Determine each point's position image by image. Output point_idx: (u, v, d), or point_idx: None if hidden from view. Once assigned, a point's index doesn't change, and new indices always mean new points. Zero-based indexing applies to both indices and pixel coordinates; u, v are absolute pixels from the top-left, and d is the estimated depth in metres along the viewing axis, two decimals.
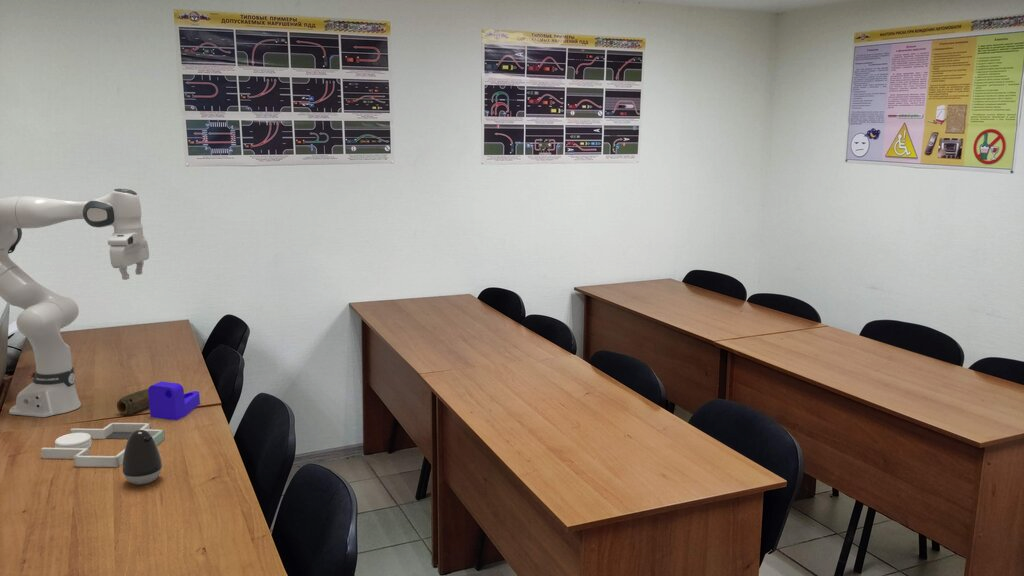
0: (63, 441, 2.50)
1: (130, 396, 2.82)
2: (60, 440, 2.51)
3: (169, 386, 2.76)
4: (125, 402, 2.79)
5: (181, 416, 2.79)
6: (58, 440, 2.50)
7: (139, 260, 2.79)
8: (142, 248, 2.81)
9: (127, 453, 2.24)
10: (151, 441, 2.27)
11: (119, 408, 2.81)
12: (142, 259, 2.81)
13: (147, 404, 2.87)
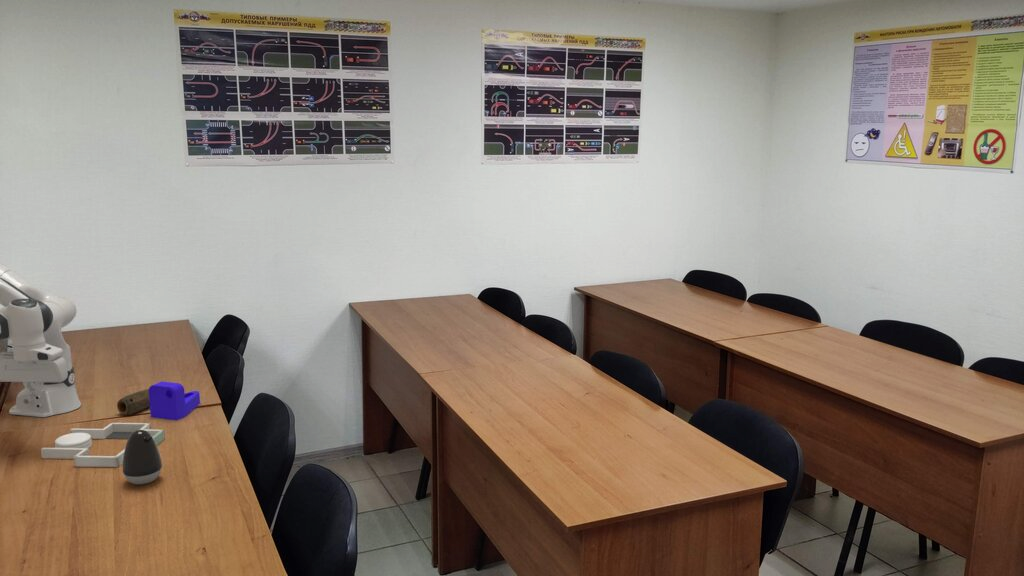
0: (63, 441, 2.50)
1: (130, 396, 2.82)
2: (60, 440, 2.51)
3: (170, 386, 2.76)
4: (125, 402, 2.79)
5: (182, 416, 2.79)
6: (58, 440, 2.50)
7: None
8: None
9: (127, 453, 2.24)
10: (151, 441, 2.27)
11: (119, 408, 2.81)
12: None
13: (147, 404, 2.86)
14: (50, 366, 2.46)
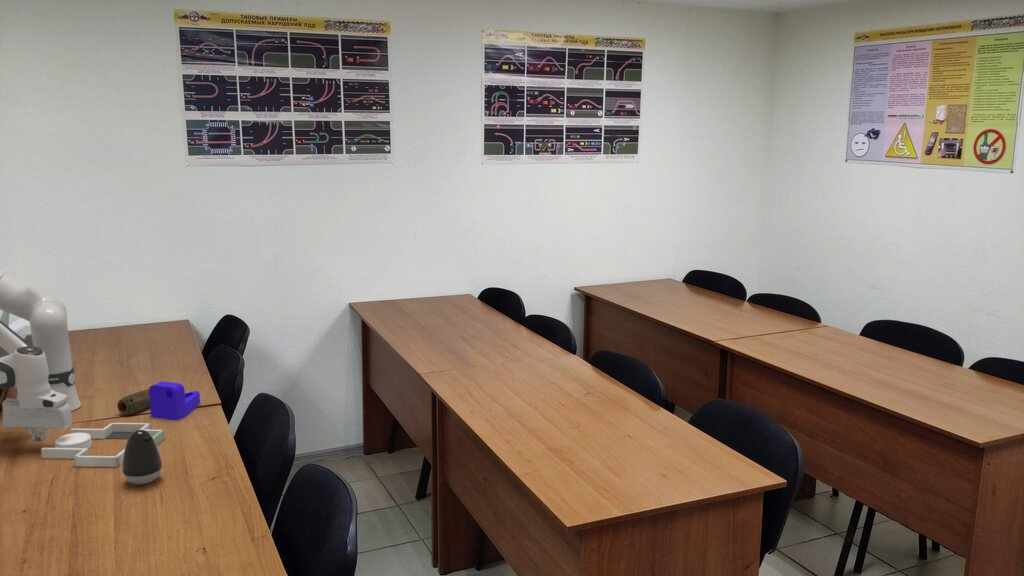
0: (63, 441, 2.50)
1: (131, 396, 2.82)
2: (60, 440, 2.51)
3: (170, 386, 2.76)
4: (126, 402, 2.79)
5: (182, 416, 2.79)
6: (58, 440, 2.50)
7: None
8: None
9: (127, 453, 2.24)
10: (151, 441, 2.27)
11: (120, 408, 2.81)
12: None
13: (148, 404, 2.86)
14: (55, 412, 2.49)
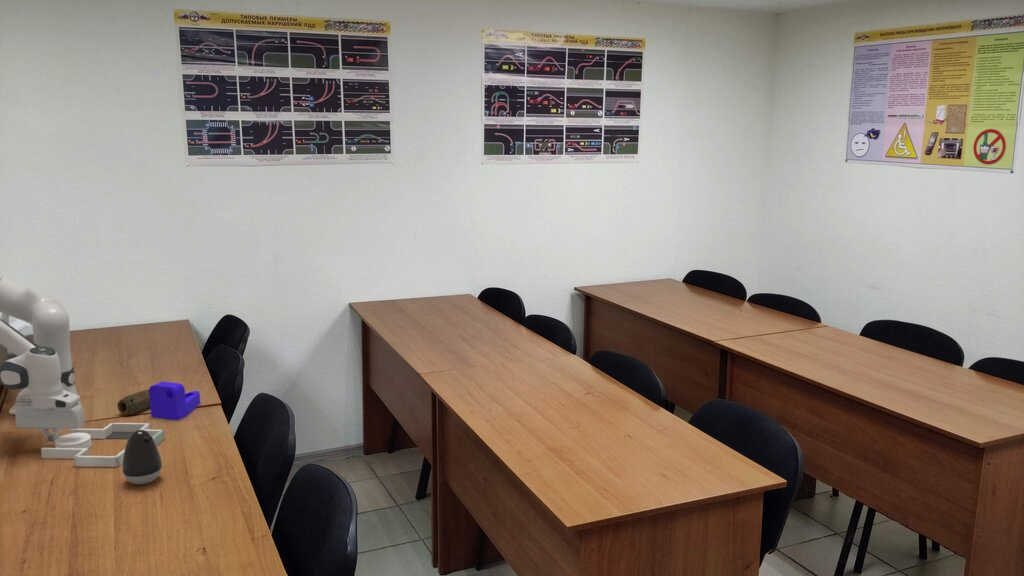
0: (63, 441, 2.50)
1: (131, 396, 2.82)
2: (60, 440, 2.51)
3: (171, 386, 2.76)
4: (126, 402, 2.79)
5: (182, 416, 2.79)
6: (58, 440, 2.50)
7: None
8: None
9: (127, 453, 2.24)
10: (151, 441, 2.27)
11: (120, 408, 2.81)
12: None
13: (148, 404, 2.86)
14: (68, 413, 2.49)
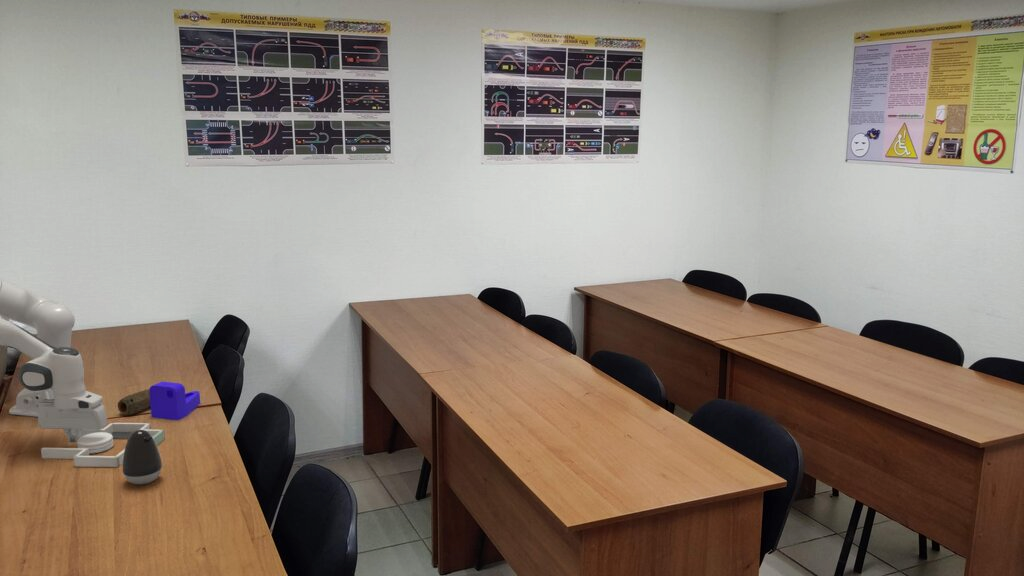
0: (86, 441, 2.49)
1: (131, 396, 2.82)
2: (82, 440, 2.50)
3: (171, 386, 2.76)
4: (126, 402, 2.79)
5: (183, 416, 2.79)
6: (80, 440, 2.50)
7: None
8: None
9: (127, 453, 2.24)
10: (151, 441, 2.27)
11: (120, 408, 2.81)
12: None
13: (148, 404, 2.86)
14: (90, 413, 2.49)
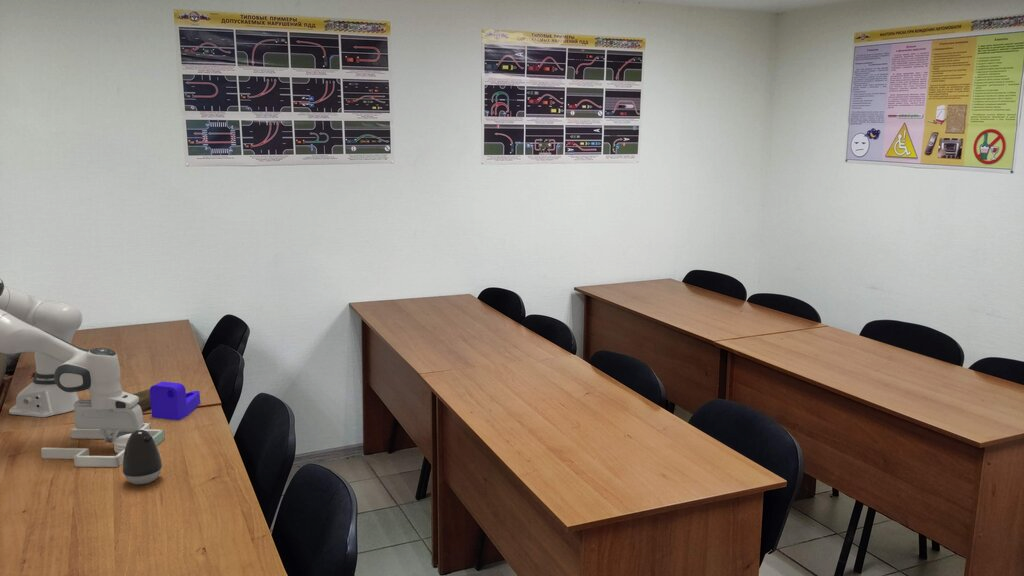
0: (122, 442, 2.49)
1: None
2: (119, 441, 2.50)
3: (171, 386, 2.76)
4: None
5: (183, 416, 2.79)
6: (117, 441, 2.50)
7: None
8: None
9: (127, 453, 2.24)
10: (151, 441, 2.27)
11: None
12: None
13: (148, 404, 2.86)
14: (127, 414, 2.49)
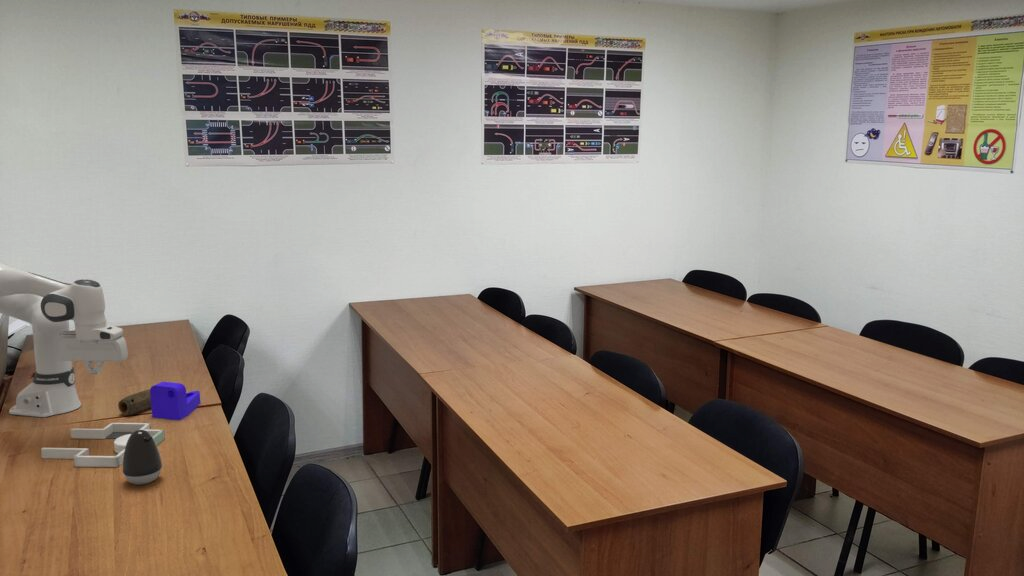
0: (122, 442, 2.49)
1: (132, 396, 2.81)
2: (119, 441, 2.50)
3: (172, 386, 2.76)
4: (126, 402, 2.79)
5: (184, 416, 2.79)
6: (117, 441, 2.50)
7: None
8: None
9: (127, 453, 2.24)
10: (151, 441, 2.27)
11: (121, 408, 2.80)
12: None
13: (149, 404, 2.86)
14: (112, 345, 2.51)
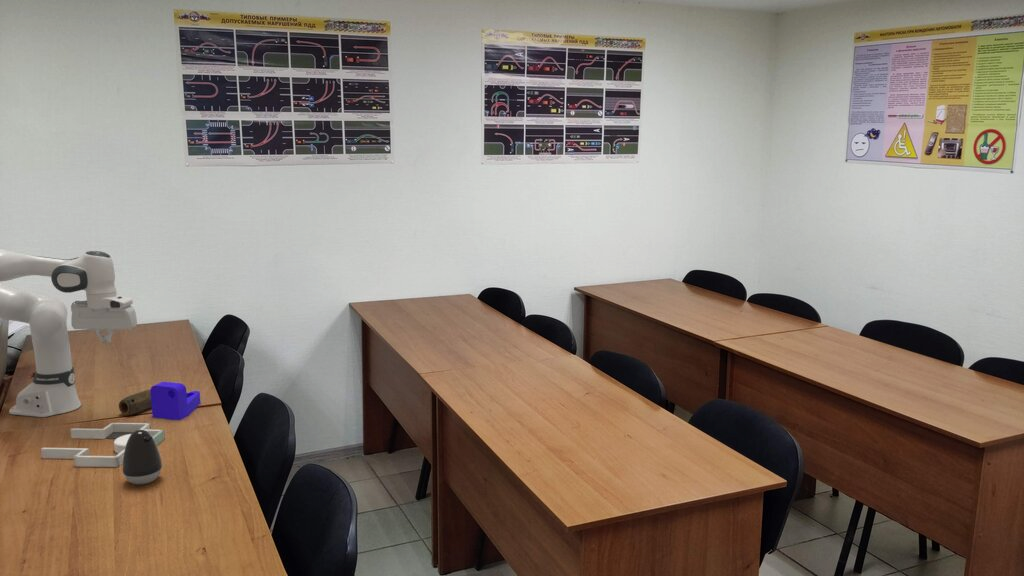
0: (122, 442, 2.49)
1: (132, 397, 2.81)
2: (119, 441, 2.50)
3: (172, 386, 2.76)
4: (127, 403, 2.79)
5: (184, 416, 2.79)
6: (117, 441, 2.50)
7: None
8: None
9: (127, 453, 2.24)
10: (151, 441, 2.27)
11: (121, 408, 2.80)
12: None
13: (149, 405, 2.86)
14: (121, 313, 2.62)
